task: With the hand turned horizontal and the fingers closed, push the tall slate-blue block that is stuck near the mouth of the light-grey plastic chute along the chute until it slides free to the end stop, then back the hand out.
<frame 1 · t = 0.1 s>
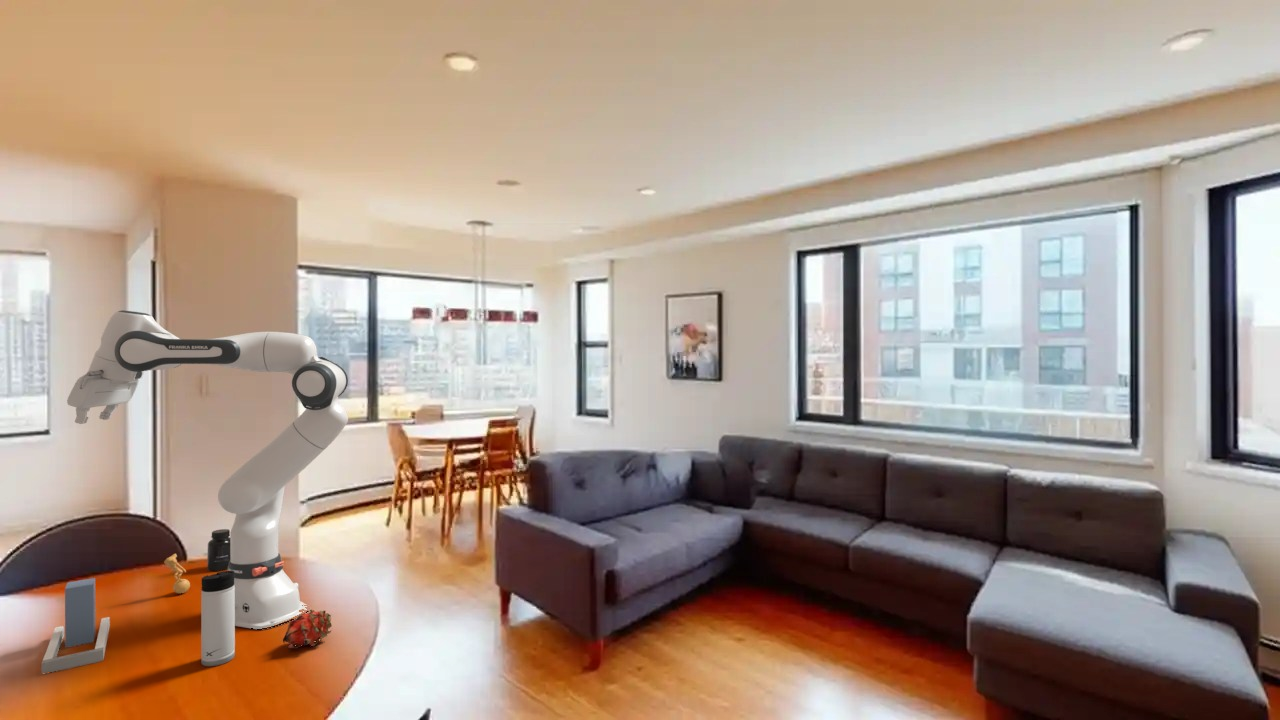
hand: (92, 421, 157), 52 cm above the table, tool tilted 20°, fingers open, 8 cm apart
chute: (78, 647, 145), on the table
block: (80, 612, 148), point 7 cm above the table, slide at 0.0 cm
figurine: (177, 595, 176), on the table
dragon fruit: (307, 646, 147), on the table
supplement bottle: (220, 568, 198), on the table
travel mug: (218, 660, 139), on the table
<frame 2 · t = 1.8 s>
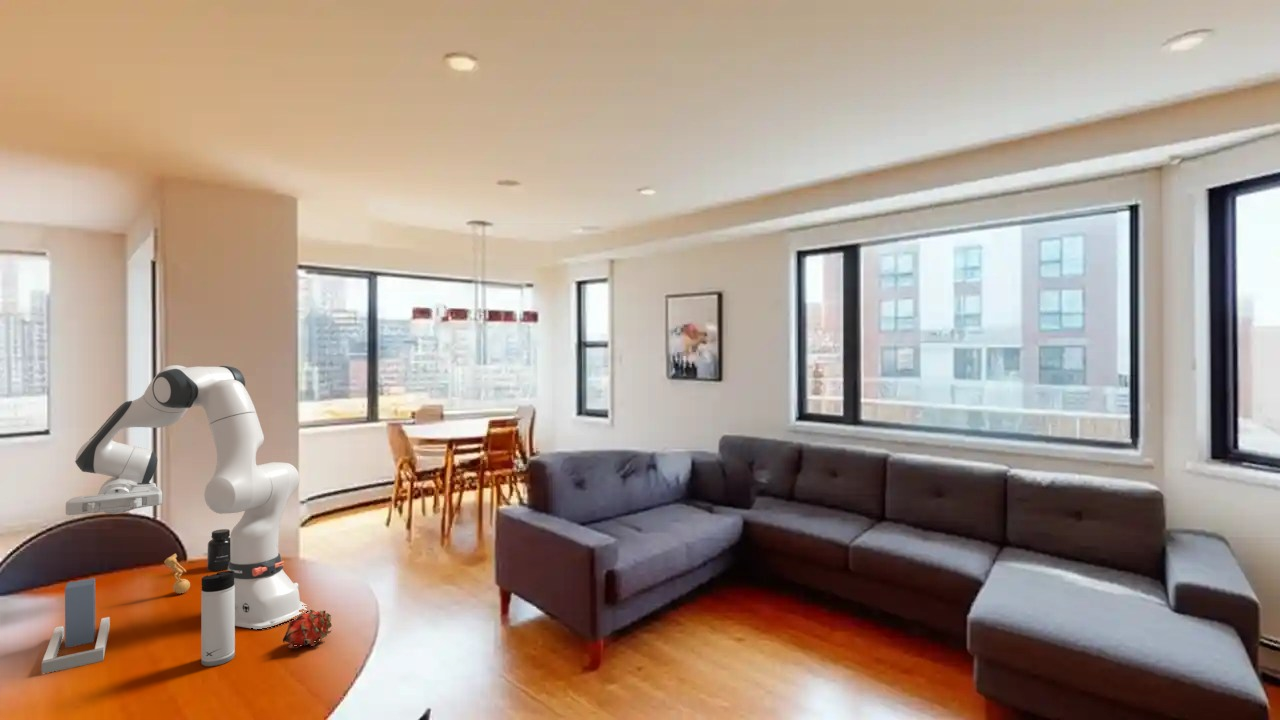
hand: (114, 507, 164), 28 cm above the table, tool horizontal, fingers open, 6 cm apart
nothing on the table moved.
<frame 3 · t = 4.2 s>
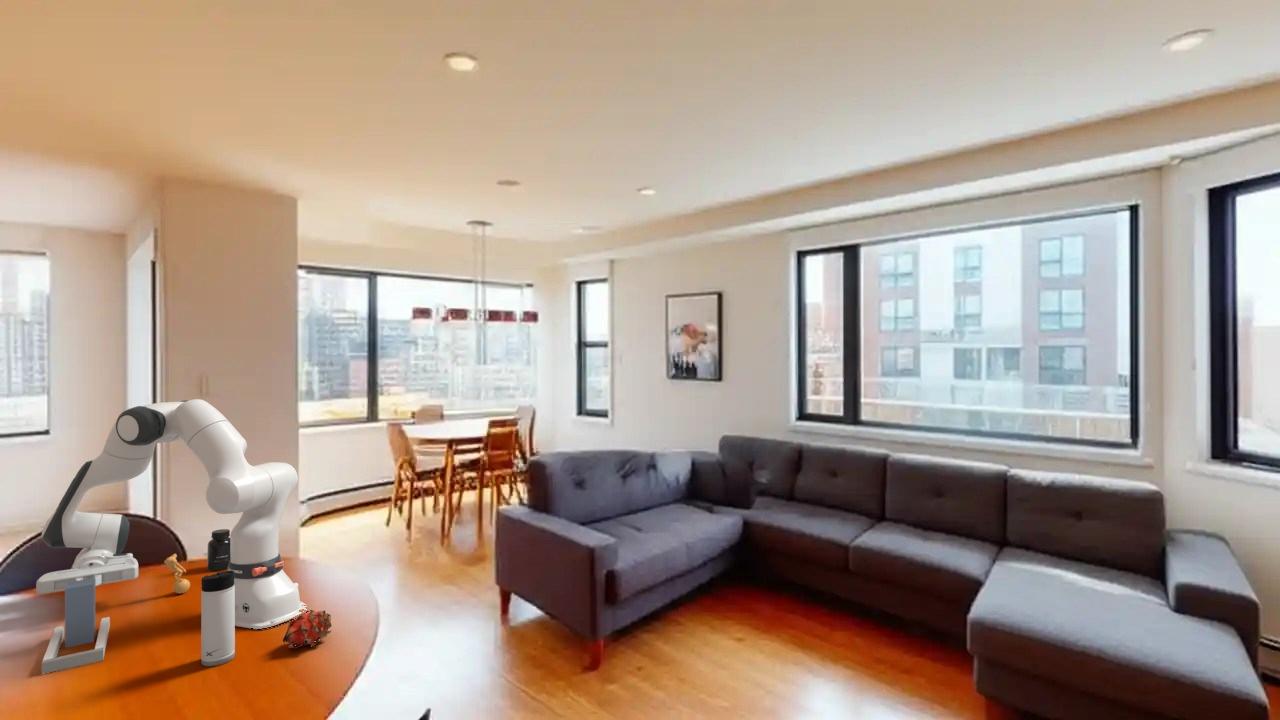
hand: (87, 585, 158), 9 cm above the table, tool horizontal, fingers closed
nothing on the table moved.
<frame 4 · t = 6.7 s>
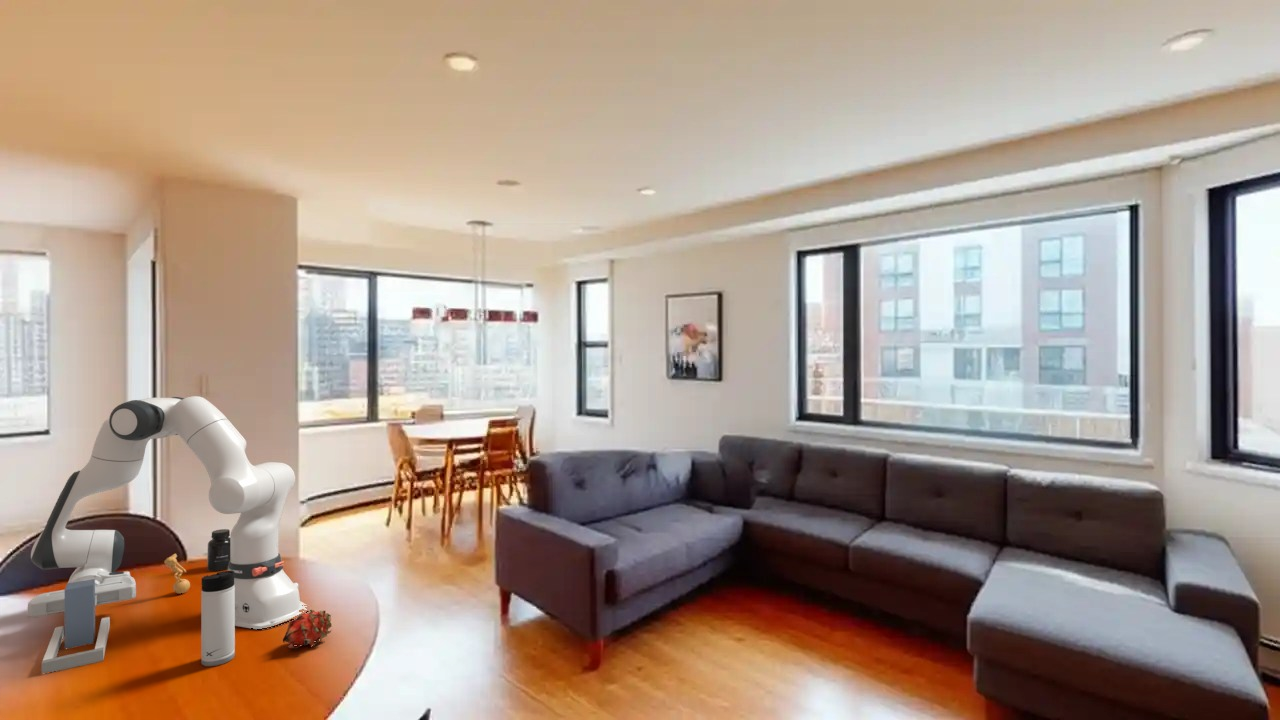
hand: (81, 607, 149), 7 cm above the table, tool horizontal, fingers closed, pressing on block
block: (80, 613, 147), point 7 cm above the table, slide at 0.7 cm, touching gripper
everything else where it was.
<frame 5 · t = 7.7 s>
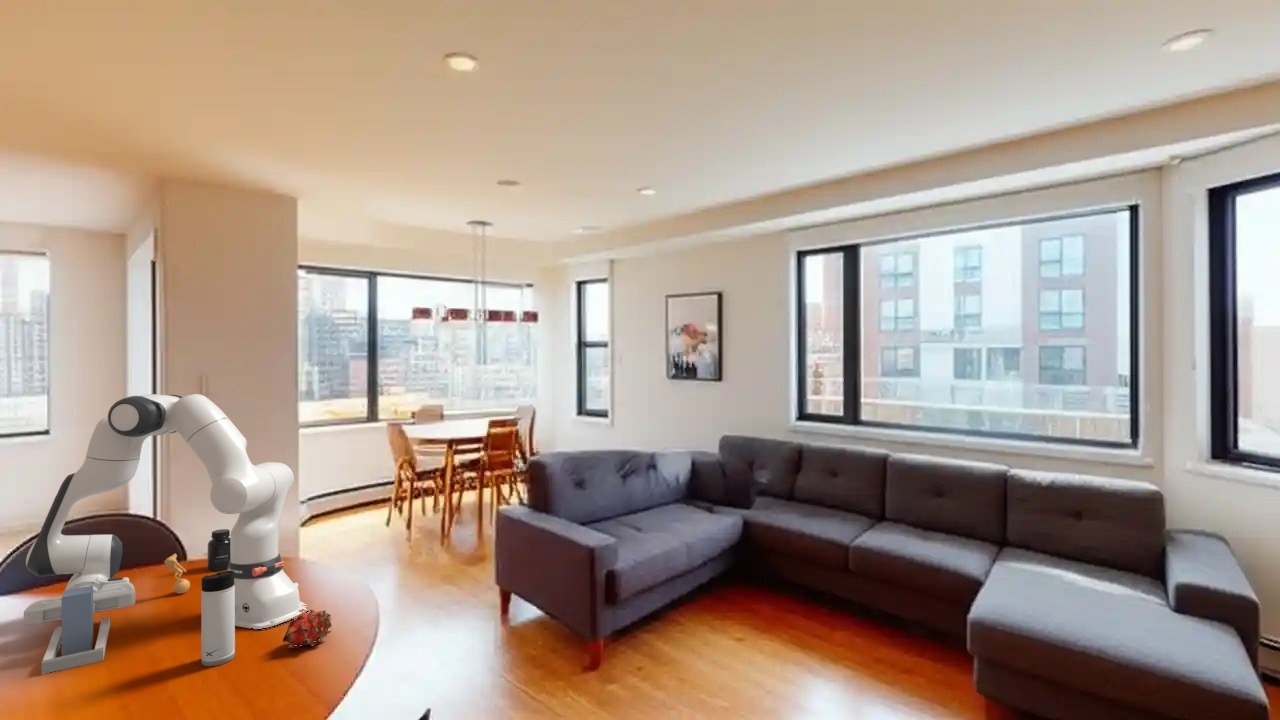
hand: (79, 615, 145), 7 cm above the table, tool horizontal, fingers closed, pressing on block
block: (77, 621, 143), point 7 cm above the table, slide at 6.2 cm, touching gripper
everything else where it was.
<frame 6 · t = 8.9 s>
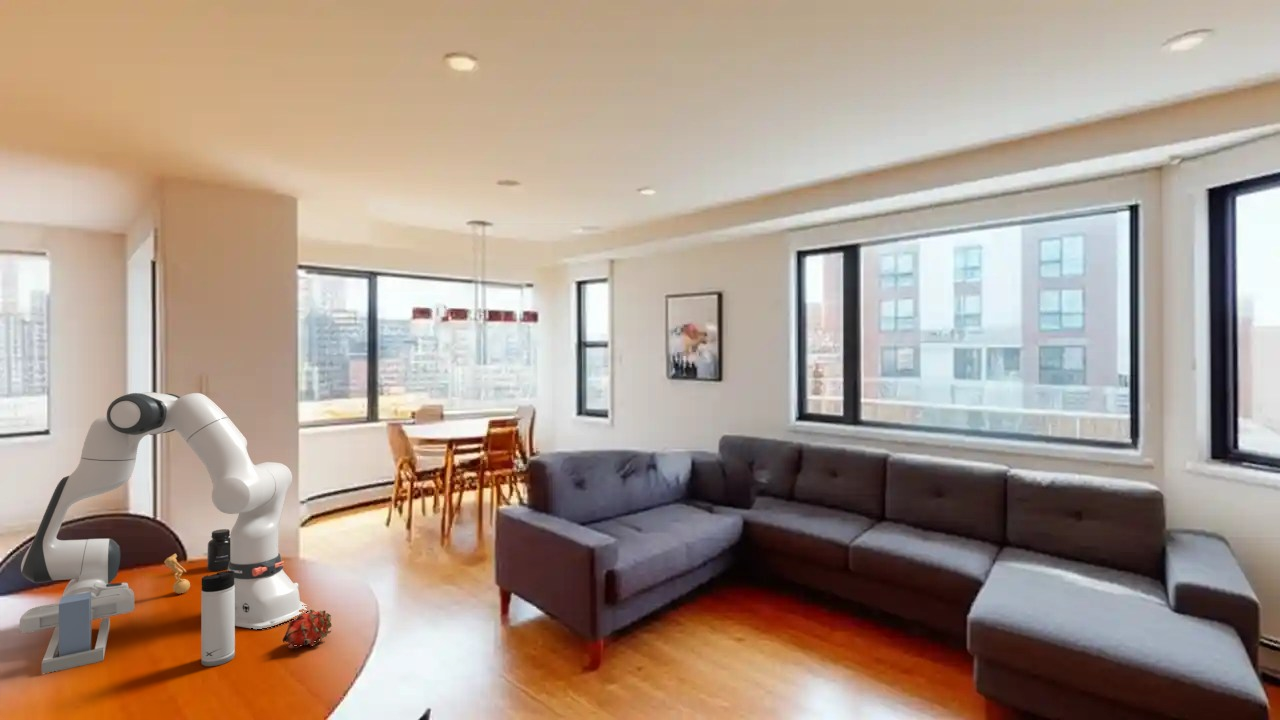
hand: (76, 622, 141), 7 cm above the table, tool horizontal, fingers closed, pressing on block
block: (75, 628, 139), point 7 cm above the table, slide at 10.9 cm, touching gripper
everything else where it was.
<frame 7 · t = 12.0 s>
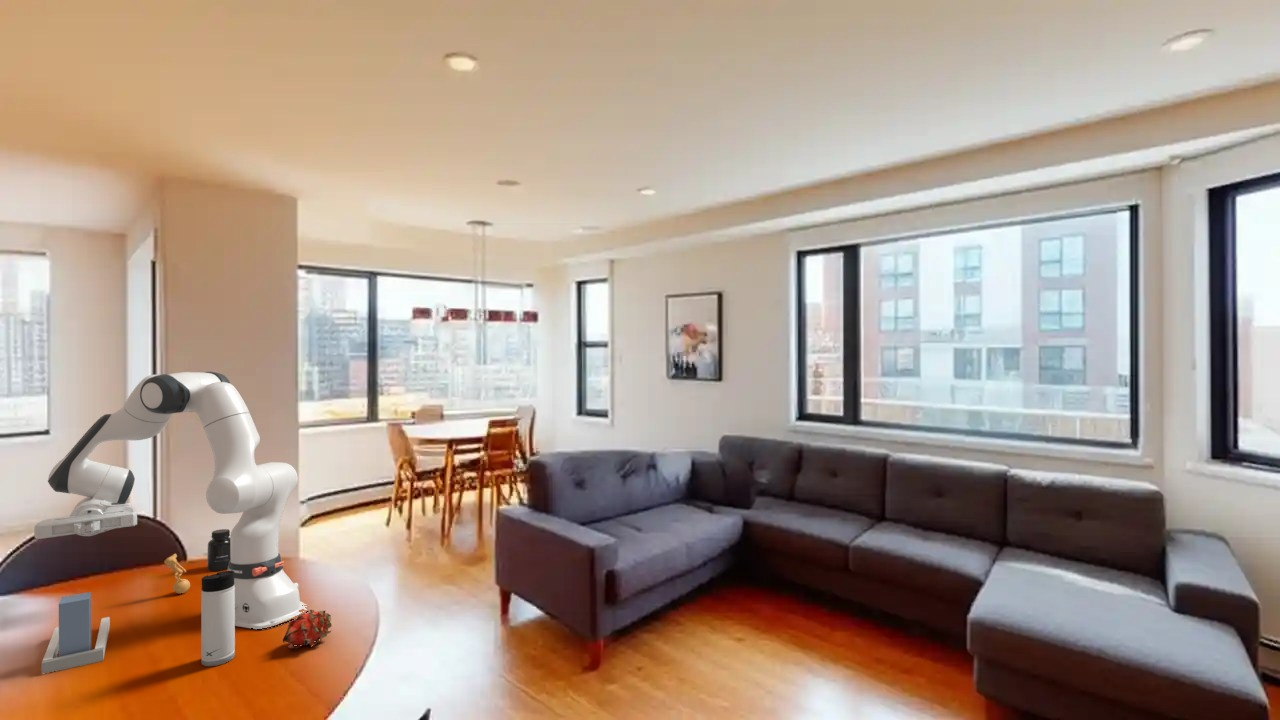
hand: (85, 529, 157), 24 cm above the table, tool horizontal, fingers closed
block: (75, 628, 139), point 7 cm above the table, slide at 10.9 cm
everything else where it was.
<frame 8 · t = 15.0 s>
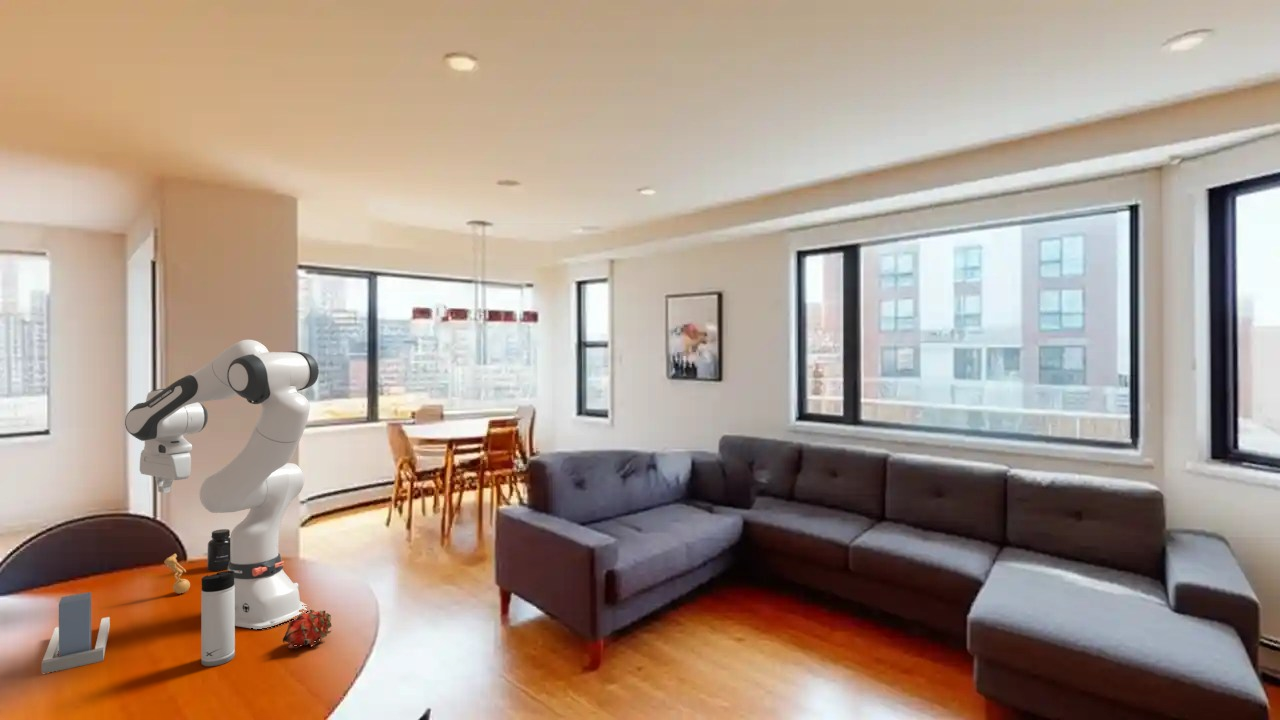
hand: (164, 492, 177), 29 cm above the table, tool pointing down, fingers closed
nothing on the table moved.
at the end: block slide at 10.9 cm; the gripper is holding nothing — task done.
